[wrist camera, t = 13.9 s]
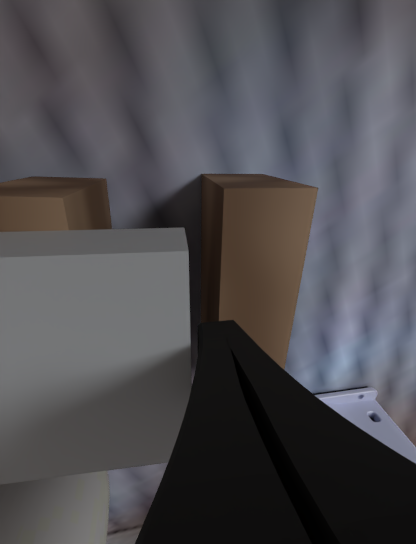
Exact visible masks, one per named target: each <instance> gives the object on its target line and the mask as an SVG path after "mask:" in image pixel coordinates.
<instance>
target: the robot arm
mask: <svg viewBox="0 0 416 544" xmlns="http://www.w3.org/2000/svg"><path fill="white" fill-rule="evenodd" d="M376 396H377V391H376V390H375V389H374V388H373V387H369V388H362V389H354V390H347V391H340V392H333V393H326V394H318V395H313V394H312V393H311V392H310V391H308V390H307V389H306V388H305V387H303V386H302V385H301V384H300V383H299V382H297V381H296V380H295V379H294V378H293V377H292V376H290V375H289V374H288V373H287V372H286V371H285V370H284V369H283V368H281V367H280V366H279V365H278V364H277V363H276V362H275V361H274V360H273V359H272V358H271V357H270V356H269V355H268V354H267V353H266V352H265V351H263V350H262V349H261V348H260V347H259V346H258V345H257V344H256V342H255V341H254V340H253V339H252V338H251V337H250V336H249V335H248V334H247V333H246V332H245V331H244V330H243V329H242V328H241V327H240V326H239V325H238V324H237V323H236V322H235V321H234V320H226V321H214V322H202V323H200V324H199V325H198V358H197V365H196V371H195V376H194V380H193V384H192V388H191V393H190V397H189V401H188V404H187V408H186V411H185V415H184V418H183V421H182V424H181V427H180V431H179V434H178V437H177V440H176V442H175V445H174V448H173V451H172V454H171V456H170V459H169V462H168V465H167V467H166V470H165V473H164V475H163V478H162V480H161V483H160V486H159V488H158V491H157V493H156V495H155V498H154V500H153V502H152V505H151V507H150V510H149V512H148V514H147V517H146V519H145V521H144V524H143V526H142V529H141V531H140V533H139V536H138V538H137V540H136V543H135V544H416V447H415V446H414V445H413V444H412V442H411V441H410V440H409V439H408V438H407V437H406V435H405V434H404V433H403V432H402V431H401V430H400V428H399V427H398V426H397V425H396V424H395V422H394V421H393V420H392V419H391V418H390V417H389V415H388V414H387V413H386V412H385V411H384V410H383V408H382V407H381V406H380V405H379V404H378V403H377V401H376V400H375V399H376Z"/></svg>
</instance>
